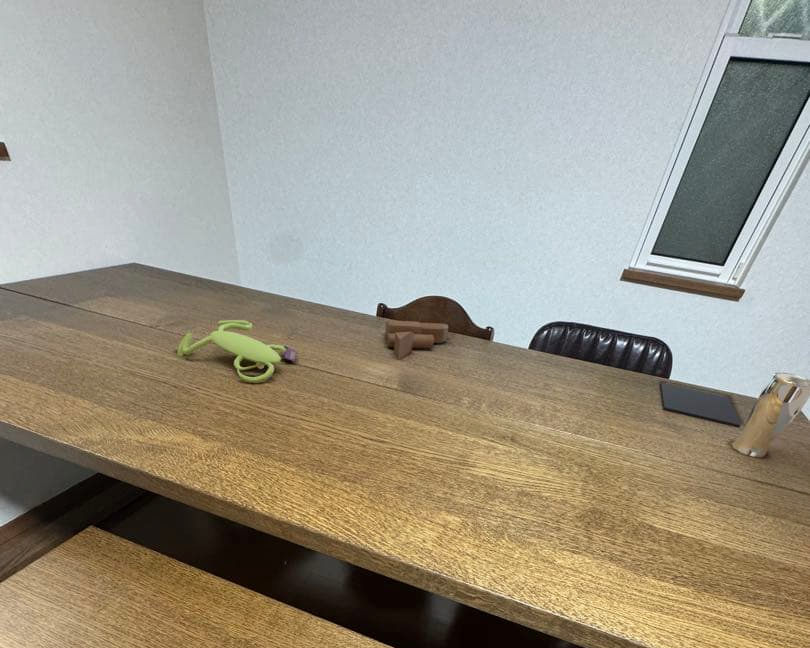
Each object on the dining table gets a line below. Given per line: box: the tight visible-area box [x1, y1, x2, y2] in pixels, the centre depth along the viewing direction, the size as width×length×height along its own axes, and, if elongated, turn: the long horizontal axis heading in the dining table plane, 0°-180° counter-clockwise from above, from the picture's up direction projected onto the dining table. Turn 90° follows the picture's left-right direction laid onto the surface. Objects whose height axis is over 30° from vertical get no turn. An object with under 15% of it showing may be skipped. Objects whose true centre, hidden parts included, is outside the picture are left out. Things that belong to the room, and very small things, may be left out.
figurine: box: [177, 319, 298, 384], centre depth 100 cm, size 18×27×6 cm
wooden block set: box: [384, 319, 449, 361], centre depth 118 cm, size 17×6×18 cm
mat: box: [659, 382, 741, 428], centre depth 108 cm, size 16×18×1 cm
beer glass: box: [731, 372, 810, 458], centre depth 85 cm, size 7×7×15 cm
